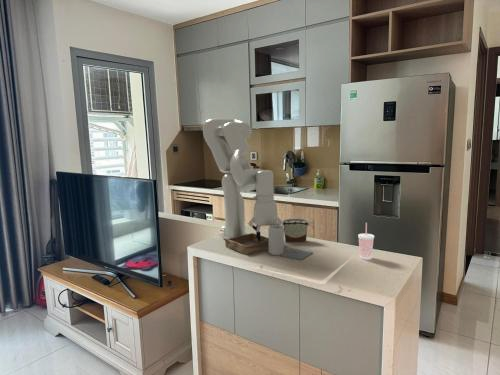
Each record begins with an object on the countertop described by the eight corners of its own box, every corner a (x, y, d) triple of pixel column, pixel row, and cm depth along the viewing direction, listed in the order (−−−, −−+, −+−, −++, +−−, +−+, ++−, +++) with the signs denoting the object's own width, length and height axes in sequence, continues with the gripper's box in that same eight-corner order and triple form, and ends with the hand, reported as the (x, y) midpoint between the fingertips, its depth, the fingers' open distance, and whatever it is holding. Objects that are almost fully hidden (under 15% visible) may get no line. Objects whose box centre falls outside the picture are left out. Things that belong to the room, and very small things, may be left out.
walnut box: (225, 246, 160) (225, 239, 159) (252, 240, 169) (252, 233, 169) (246, 255, 147) (246, 246, 147) (274, 247, 157) (274, 239, 156)
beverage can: (273, 257, 145) (272, 228, 143) (265, 252, 151) (265, 225, 149) (286, 255, 148) (286, 226, 146) (279, 250, 153) (279, 223, 152)
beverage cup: (362, 254, 145) (362, 220, 143) (376, 257, 141) (377, 222, 139) (354, 257, 141) (355, 223, 139) (369, 261, 137) (369, 225, 135)
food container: (308, 238, 169) (308, 218, 168) (309, 242, 163) (309, 221, 162) (282, 238, 170) (282, 218, 169) (282, 242, 164) (281, 221, 163)
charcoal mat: (279, 255, 145) (279, 254, 145) (291, 249, 153) (291, 248, 153) (301, 260, 140) (301, 259, 140) (312, 253, 148) (312, 252, 148)
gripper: (246, 201, 148) (247, 243, 151) (286, 199, 151) (287, 240, 153) (244, 198, 156) (245, 238, 158) (282, 196, 158) (282, 236, 161)
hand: (265, 239), depth 156 cm, fingers open, 5 cm apart
